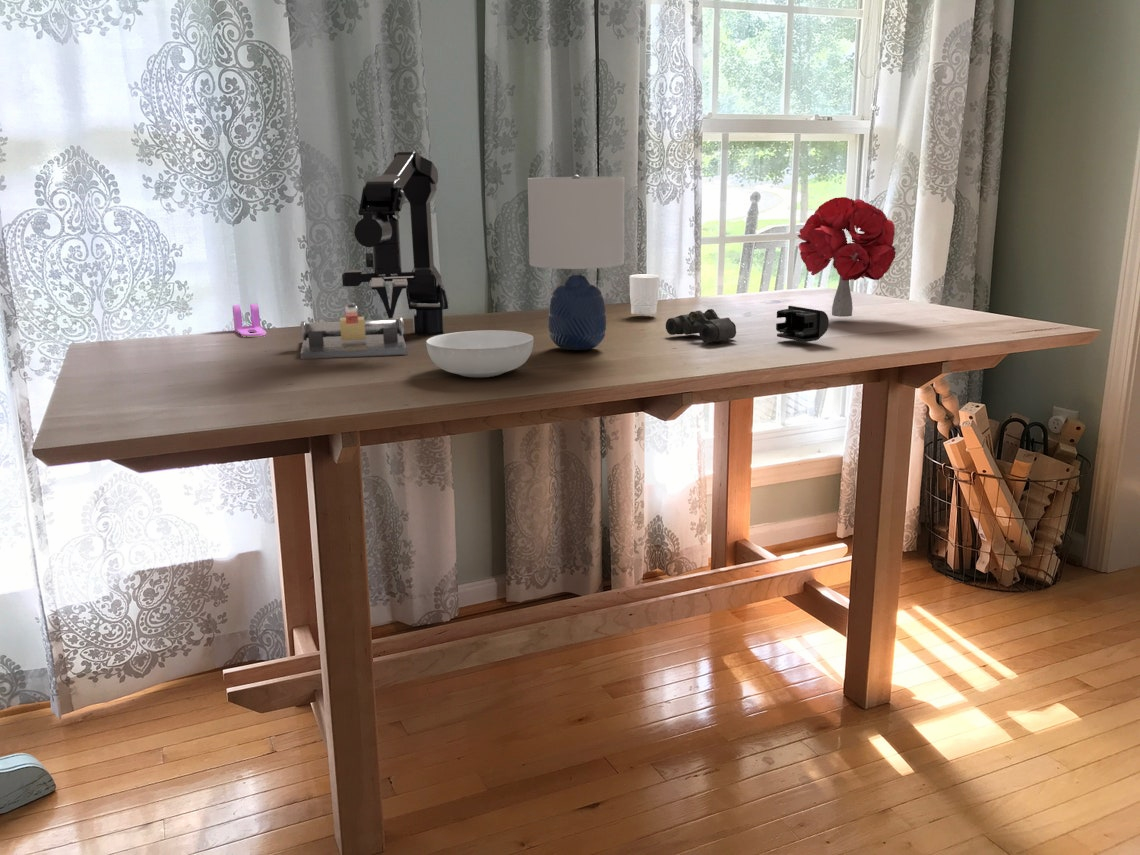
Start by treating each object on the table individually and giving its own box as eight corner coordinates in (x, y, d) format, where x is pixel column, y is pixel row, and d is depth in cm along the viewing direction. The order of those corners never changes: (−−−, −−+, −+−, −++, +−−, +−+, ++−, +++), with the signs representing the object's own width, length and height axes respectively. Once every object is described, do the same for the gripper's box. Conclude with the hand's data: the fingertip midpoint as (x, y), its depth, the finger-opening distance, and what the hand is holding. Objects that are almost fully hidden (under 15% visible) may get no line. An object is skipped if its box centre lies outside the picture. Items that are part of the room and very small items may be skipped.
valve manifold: (401, 338, 226) (400, 304, 224) (407, 354, 207) (405, 317, 205) (304, 343, 221) (301, 308, 219) (301, 360, 203) (297, 322, 200)
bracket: (234, 332, 237) (231, 304, 235) (258, 330, 239) (255, 302, 237) (244, 341, 226) (241, 311, 224) (268, 338, 228) (265, 309, 226)
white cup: (659, 315, 254) (660, 277, 252) (629, 315, 255) (629, 277, 252) (657, 311, 262) (657, 274, 259) (628, 311, 262) (628, 274, 260)
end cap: (828, 339, 220) (830, 309, 218) (805, 342, 216) (807, 312, 214) (796, 333, 228) (797, 304, 226) (774, 336, 224) (775, 307, 223)
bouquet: (850, 306, 266) (857, 194, 258) (909, 319, 245) (919, 197, 237) (783, 311, 258) (789, 196, 250) (838, 325, 237) (846, 199, 229)
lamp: (577, 335, 227) (576, 173, 217) (642, 346, 213) (644, 174, 203) (512, 348, 213) (507, 175, 203) (577, 360, 199) (575, 175, 189)
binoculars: (699, 329, 236) (700, 303, 234) (746, 338, 223) (747, 311, 221) (664, 334, 230) (665, 308, 228) (711, 344, 217) (711, 316, 215)
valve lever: (345, 312, 213) (344, 303, 212) (357, 311, 214) (357, 302, 213) (345, 323, 198) (345, 314, 197) (358, 323, 198) (358, 313, 198)
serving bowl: (527, 359, 201) (526, 327, 199) (541, 381, 181) (540, 345, 179) (426, 364, 197) (424, 331, 196) (429, 387, 178) (427, 350, 176)
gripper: (428, 238, 210) (431, 310, 214) (340, 241, 206) (345, 314, 210) (432, 242, 199) (436, 318, 203) (339, 245, 195) (345, 322, 200)
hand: (390, 317), depth 204 cm, fingers closed
